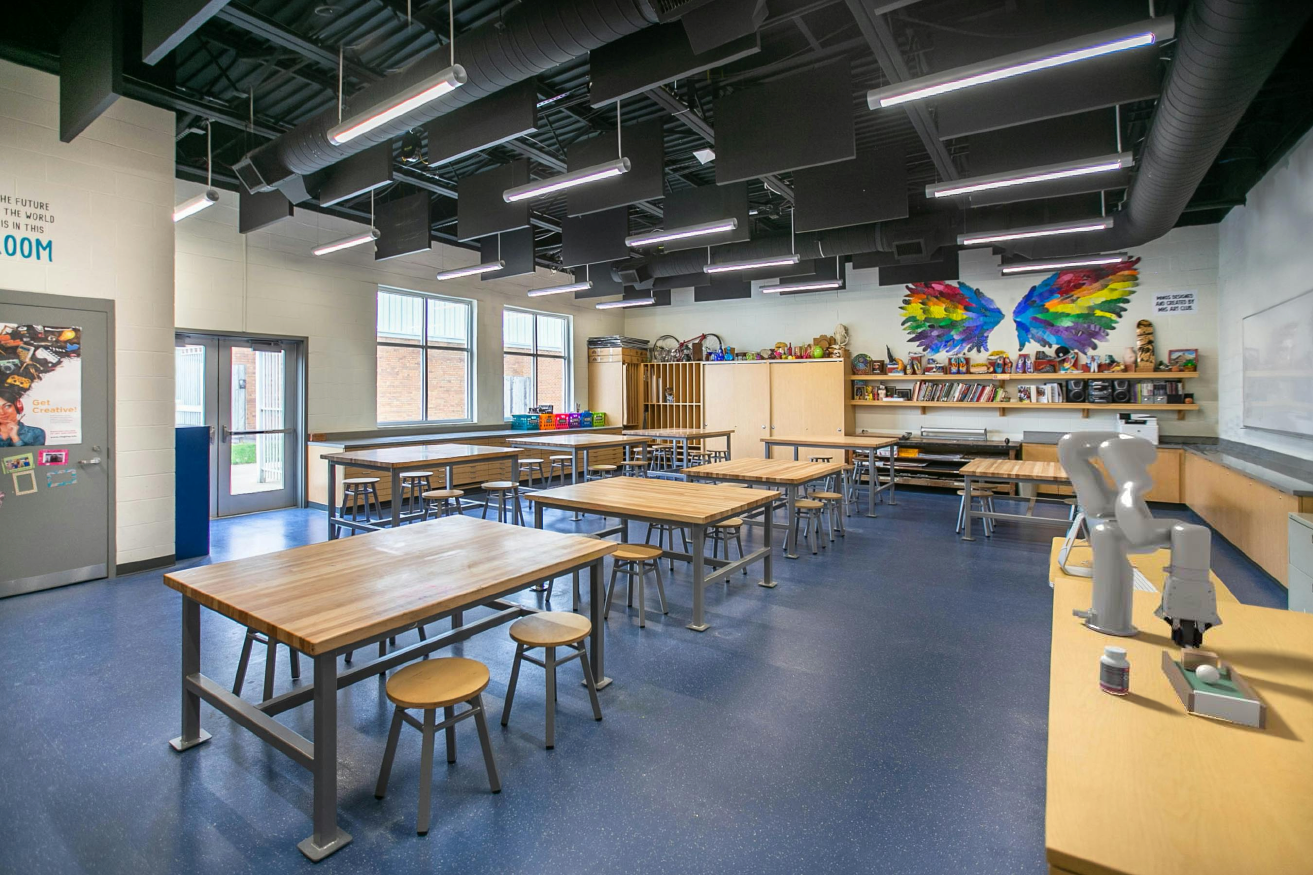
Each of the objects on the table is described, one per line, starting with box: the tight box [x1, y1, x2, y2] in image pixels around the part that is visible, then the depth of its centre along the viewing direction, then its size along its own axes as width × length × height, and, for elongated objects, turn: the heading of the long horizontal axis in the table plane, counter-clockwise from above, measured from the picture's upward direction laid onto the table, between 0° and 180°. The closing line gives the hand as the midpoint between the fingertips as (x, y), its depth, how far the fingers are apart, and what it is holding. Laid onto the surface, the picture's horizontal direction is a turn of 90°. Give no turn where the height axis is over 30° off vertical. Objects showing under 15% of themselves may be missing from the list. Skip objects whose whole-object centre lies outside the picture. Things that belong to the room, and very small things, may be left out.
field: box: [1160, 650, 1268, 730], centre depth 136 cm, size 12×26×5 cm, turn 150°
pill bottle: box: [1098, 645, 1131, 694], centre depth 138 cm, size 5×5×10 cm
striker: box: [1178, 619, 1219, 671], centre depth 148 cm, size 6×15×8 cm, turn 150°
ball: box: [1196, 665, 1220, 684], centre depth 137 cm, size 4×4×4 cm
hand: (1186, 644), depth 153 cm, fingers closed on striker, 3 cm apart
